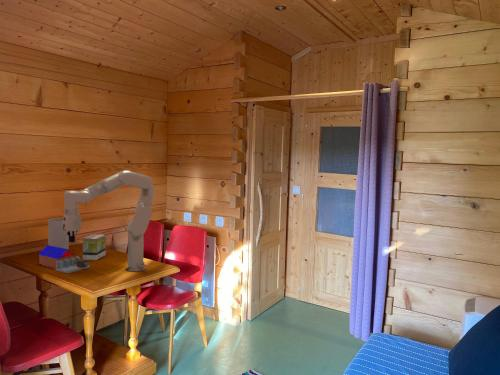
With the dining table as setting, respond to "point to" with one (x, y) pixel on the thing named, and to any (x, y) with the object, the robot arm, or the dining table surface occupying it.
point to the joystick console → (68, 265)
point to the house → (53, 255)
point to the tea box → (94, 247)
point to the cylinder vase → (57, 234)
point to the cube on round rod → (81, 263)
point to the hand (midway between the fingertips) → (71, 242)
